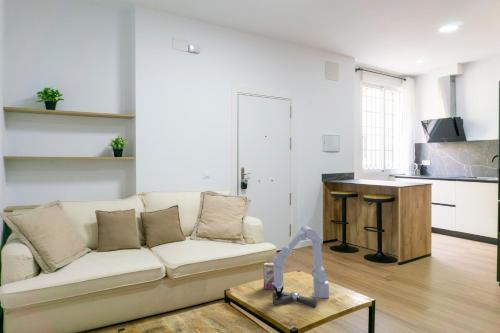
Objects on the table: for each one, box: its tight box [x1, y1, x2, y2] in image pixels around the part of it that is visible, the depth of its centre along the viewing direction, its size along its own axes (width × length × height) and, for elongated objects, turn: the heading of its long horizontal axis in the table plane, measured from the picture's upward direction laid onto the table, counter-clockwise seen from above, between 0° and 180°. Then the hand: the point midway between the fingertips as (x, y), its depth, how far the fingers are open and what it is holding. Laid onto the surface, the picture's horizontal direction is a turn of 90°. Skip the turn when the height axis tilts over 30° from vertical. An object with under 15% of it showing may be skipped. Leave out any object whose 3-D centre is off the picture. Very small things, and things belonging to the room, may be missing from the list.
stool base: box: [272, 291, 318, 309], centre depth 196 cm, size 26×11×4 cm, turn 81°
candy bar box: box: [263, 262, 275, 291], centre depth 218 cm, size 11×5×16 cm, turn 78°
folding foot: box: [272, 290, 291, 298], centre depth 203 cm, size 11×3×3 cm, turn 61°
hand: (279, 298), depth 199 cm, fingers closed
